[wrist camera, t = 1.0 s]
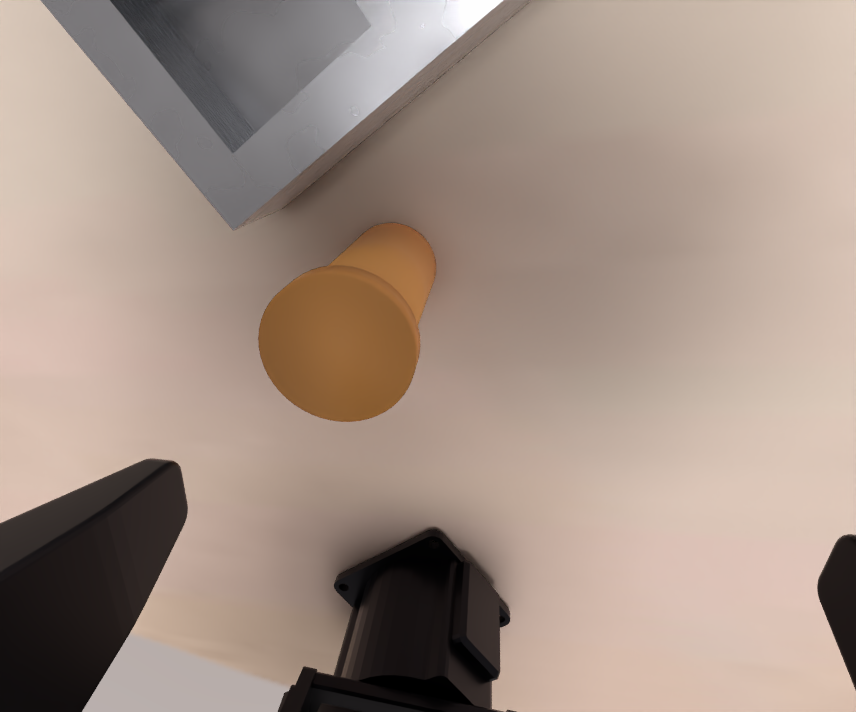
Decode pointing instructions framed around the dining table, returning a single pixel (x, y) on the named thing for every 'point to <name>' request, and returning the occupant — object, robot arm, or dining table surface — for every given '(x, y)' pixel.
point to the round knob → (351, 326)
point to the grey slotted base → (271, 79)
